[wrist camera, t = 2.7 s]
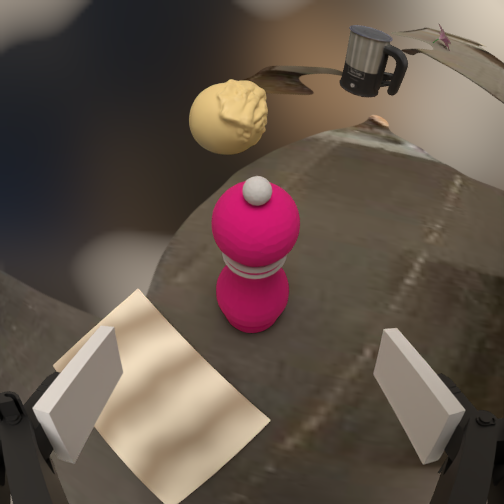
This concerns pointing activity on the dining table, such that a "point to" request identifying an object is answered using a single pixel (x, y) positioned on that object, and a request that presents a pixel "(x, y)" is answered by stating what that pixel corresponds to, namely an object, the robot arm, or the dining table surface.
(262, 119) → the sculpture
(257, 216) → the pepper mill
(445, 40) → the lily
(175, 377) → the serving board
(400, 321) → the dining table surface
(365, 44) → the milk frother
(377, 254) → the dining table surface
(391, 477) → the dining table surface
